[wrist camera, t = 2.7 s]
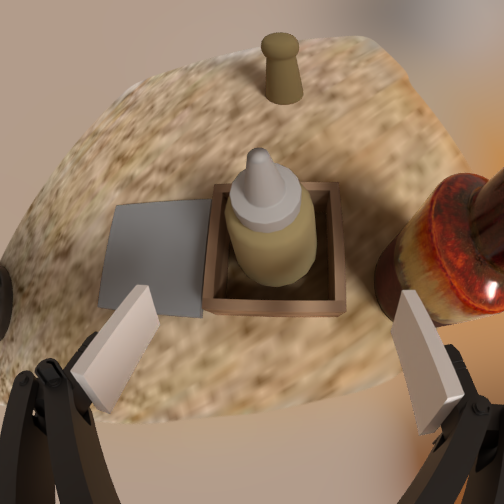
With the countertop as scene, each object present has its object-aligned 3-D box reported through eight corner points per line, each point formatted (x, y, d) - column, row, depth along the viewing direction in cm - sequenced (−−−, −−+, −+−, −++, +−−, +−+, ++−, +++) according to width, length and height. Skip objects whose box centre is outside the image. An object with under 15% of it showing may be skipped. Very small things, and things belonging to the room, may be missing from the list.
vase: (362, 248, 30) (435, 120, 11) (437, 230, 29) (532, 125, 10) (385, 342, 27) (516, 326, 8) (461, 314, 26) (592, 267, 7)
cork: (292, 78, 41) (288, 25, 30) (310, 98, 38) (310, 40, 28) (259, 88, 41) (249, 34, 30) (275, 109, 38) (267, 50, 28)
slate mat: (102, 308, 32) (97, 306, 31) (119, 208, 37) (116, 205, 36) (202, 318, 30) (199, 317, 29) (213, 202, 35) (211, 198, 34)
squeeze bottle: (241, 295, 31) (177, 231, 14) (241, 225, 33) (193, 114, 16) (316, 292, 29) (346, 221, 13) (311, 221, 32) (322, 102, 15)
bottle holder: (215, 314, 30) (201, 308, 26) (224, 205, 34) (214, 184, 30) (337, 316, 28) (346, 311, 24) (333, 204, 32) (338, 182, 28)
